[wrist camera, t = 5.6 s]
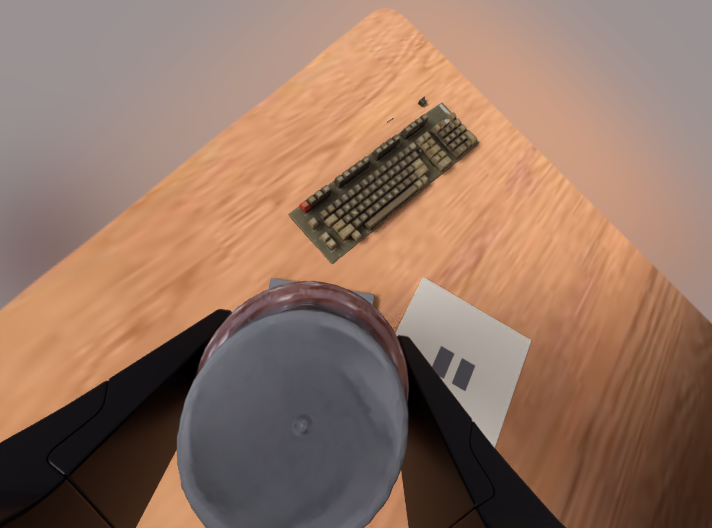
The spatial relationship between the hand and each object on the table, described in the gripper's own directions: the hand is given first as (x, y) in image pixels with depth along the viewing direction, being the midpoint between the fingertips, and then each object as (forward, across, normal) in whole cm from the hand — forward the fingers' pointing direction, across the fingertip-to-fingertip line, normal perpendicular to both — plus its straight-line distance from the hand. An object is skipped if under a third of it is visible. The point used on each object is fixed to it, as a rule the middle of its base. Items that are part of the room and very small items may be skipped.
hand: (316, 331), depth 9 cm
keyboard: (+21, -4, -2) cm, 22 cm away
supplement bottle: (+4, 0, +6) cm, 7 cm away
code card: (+8, -12, +11) cm, 18 cm away
